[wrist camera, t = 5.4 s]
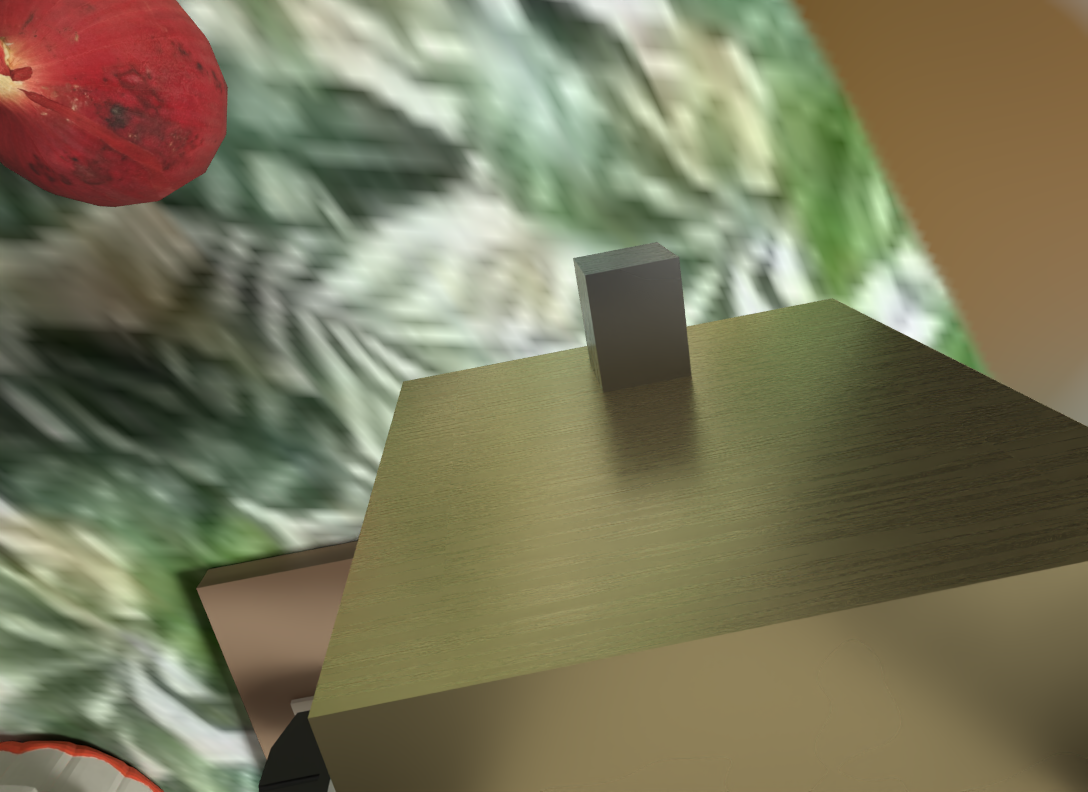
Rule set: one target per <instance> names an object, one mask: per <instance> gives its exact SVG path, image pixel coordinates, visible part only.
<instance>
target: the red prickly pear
mask: <svg viewBox="0 0 1088 792" xmlns="http://www.w3.org/2000/svg"><path fill="white" fill-rule="evenodd" d="M227 88H228V87H227V85H226V82H225V80H224V77H223V75H222V72H221V70H220V68H219V65H218V63H217V60H216V58H215V55H214V53H213V50H212V48H211V46H210V43H209V41H208V40H207V38H206V37H205V35H204V34H203V33H202V31H201V30H200V29H199V28H198V27H197V25H196V24H195V23H194V22H193V20H192V19H191V18H190V17H189V16H188V14H187V13H186V12H185V11H184V9H183V8H182V7H181V6H180V5H179V3H178V2H177V1H176V0H0V162H1V163H2V164H3V165H4V166H5V167H7V168H9V169H10V170H12V171H14V172H15V173H17V174H19V175H20V176H22V177H24V178H25V179H27V180H28V181H30V182H32V183H33V184H35V185H37V186H38V187H40V188H42V189H43V190H46V191H48V192H51V193H53V194H55V195H59V196H62V197H66V198H70V199H74V200H78V201H82V202H86V203H90V204H93V205H97V206H107V207H118V206H125V205H132V204H140V203H147V202H154V201H159V200H161V199H163V198H164V197H166V196H167V195H169V194H171V193H172V192H174V191H175V190H177V189H179V188H180V187H182V186H184V185H185V184H187V183H188V182H190V181H192V180H193V179H195V178H197V177H198V176H200V175H202V174H203V173H205V172H206V170H207V168H208V166H209V165H210V163H211V161H212V159H213V157H214V155H215V154H216V152H217V150H218V148H219V146H220V144H221V143H222V141H223V139H224V137H225V135H226V124H227Z"/></svg>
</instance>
